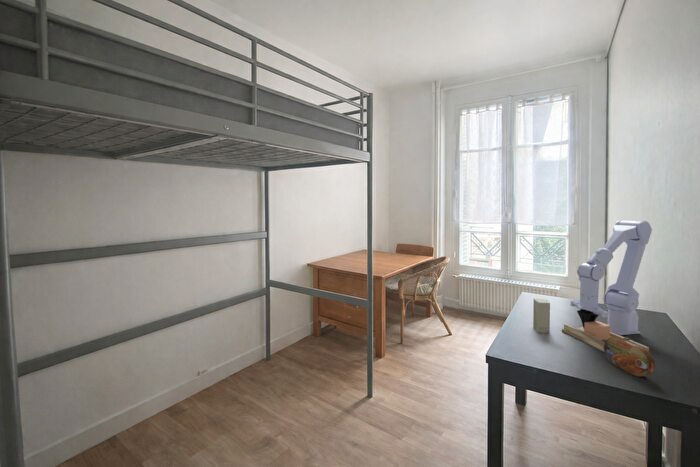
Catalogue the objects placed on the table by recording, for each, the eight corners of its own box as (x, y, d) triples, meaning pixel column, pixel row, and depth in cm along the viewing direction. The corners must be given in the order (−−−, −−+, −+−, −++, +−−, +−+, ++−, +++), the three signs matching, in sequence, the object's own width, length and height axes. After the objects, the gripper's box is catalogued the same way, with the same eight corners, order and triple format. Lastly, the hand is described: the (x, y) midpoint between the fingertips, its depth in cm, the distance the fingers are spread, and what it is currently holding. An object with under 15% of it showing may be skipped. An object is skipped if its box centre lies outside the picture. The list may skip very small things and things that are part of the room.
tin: (602, 358, 111) (603, 333, 110) (611, 357, 111) (612, 333, 110) (646, 382, 96) (648, 353, 95) (656, 381, 96) (658, 353, 95)
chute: (587, 329, 135) (588, 321, 135) (650, 355, 112) (651, 346, 111) (561, 331, 133) (562, 323, 133) (619, 358, 110) (620, 349, 109)
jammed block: (597, 333, 128) (598, 321, 127) (609, 339, 123) (610, 325, 122) (583, 335, 127) (584, 322, 126) (595, 340, 122) (596, 327, 121)
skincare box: (549, 333, 132) (551, 303, 130) (537, 332, 132) (538, 302, 131) (543, 327, 138) (545, 298, 137) (532, 326, 139) (533, 298, 138)
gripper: (564, 290, 134) (563, 323, 135) (596, 300, 120) (594, 337, 121) (579, 289, 135) (578, 322, 136) (613, 299, 121) (611, 336, 122)
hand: (587, 329), depth 129 cm, fingers closed
